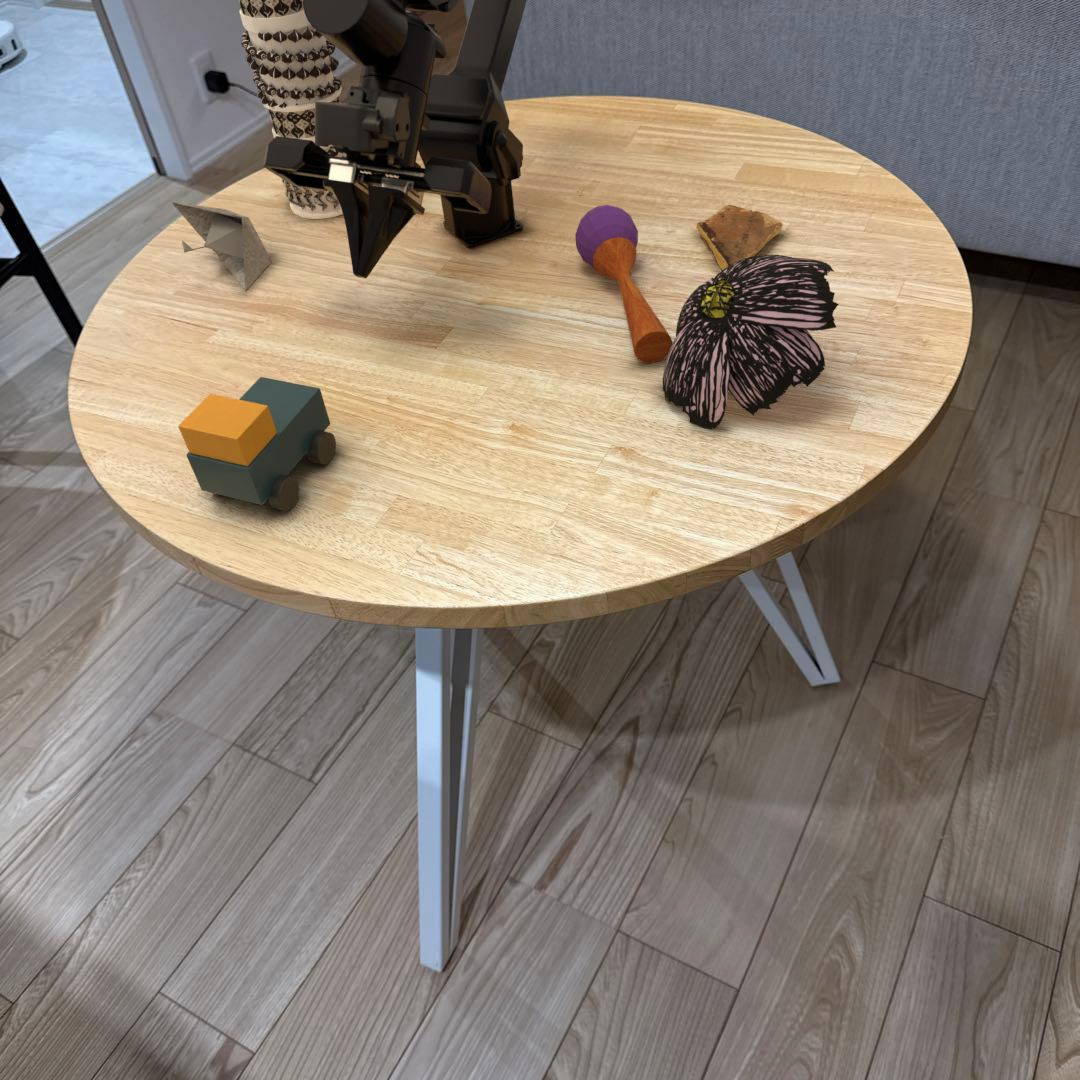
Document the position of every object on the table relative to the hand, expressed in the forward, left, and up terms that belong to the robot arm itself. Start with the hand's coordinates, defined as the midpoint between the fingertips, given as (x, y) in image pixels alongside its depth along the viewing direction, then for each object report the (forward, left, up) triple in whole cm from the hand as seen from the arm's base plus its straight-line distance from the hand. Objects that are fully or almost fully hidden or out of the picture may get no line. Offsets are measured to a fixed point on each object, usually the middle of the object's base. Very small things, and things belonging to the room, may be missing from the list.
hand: (360, 276), depth 85 cm
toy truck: (+10, +8, -4) cm, 13 cm away
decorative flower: (-23, +23, -8) cm, 34 cm away
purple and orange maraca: (-22, +7, -8) cm, 25 cm away
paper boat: (+7, -24, -8) cm, 26 cm away
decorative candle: (-7, -31, -8) cm, 33 cm away
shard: (-37, +6, -8) cm, 39 cm away
